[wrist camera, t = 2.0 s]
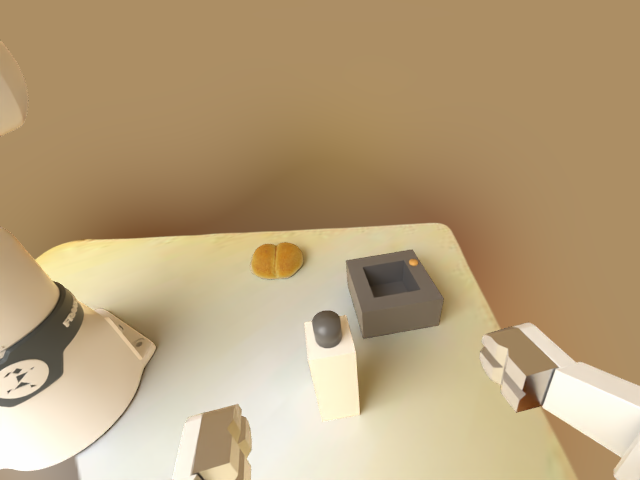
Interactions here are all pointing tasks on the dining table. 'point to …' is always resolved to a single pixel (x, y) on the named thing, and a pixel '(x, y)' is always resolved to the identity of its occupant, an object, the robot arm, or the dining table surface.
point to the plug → (333, 365)
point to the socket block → (392, 294)
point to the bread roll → (276, 261)
